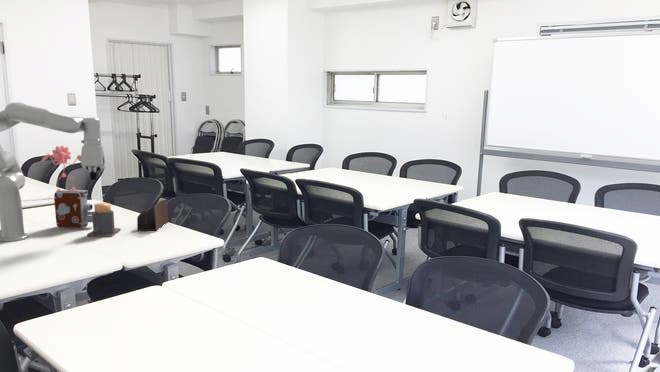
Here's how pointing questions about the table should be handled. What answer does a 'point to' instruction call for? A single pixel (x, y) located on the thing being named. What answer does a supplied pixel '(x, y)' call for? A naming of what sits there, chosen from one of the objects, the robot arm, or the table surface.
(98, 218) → the top hat
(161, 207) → the letter holder
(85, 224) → the cine camera
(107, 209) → the cap
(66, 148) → the pink flower
